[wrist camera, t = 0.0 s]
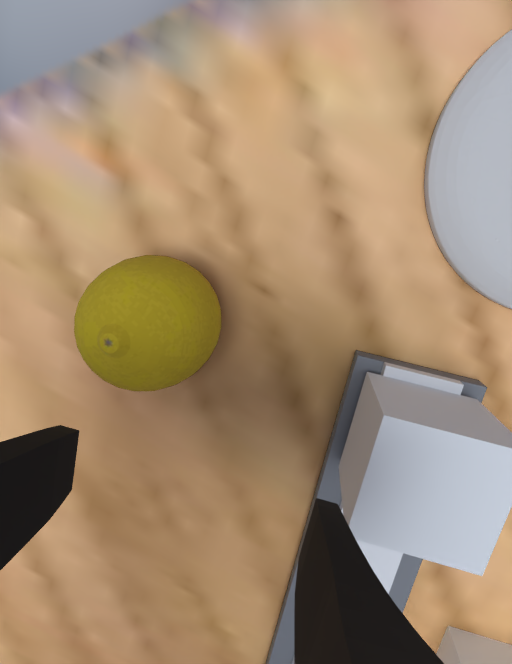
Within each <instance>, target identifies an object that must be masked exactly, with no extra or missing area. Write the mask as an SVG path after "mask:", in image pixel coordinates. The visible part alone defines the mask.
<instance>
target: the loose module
mask: <svg viewBox="0 0 512 664" xmlns="http://www.w3.org/2000/svg"><path fill="white" fill-rule="evenodd" d="M436 655H437V656H438V657H439V658H440V659H441V661H442V662H443V663H444V664H512V645H510V644H507V643H504V642H500V641H497V640H494V639H491V638H487V637H484V636H481V635H477V634H474V633H471V632H467V631H464V630H461V629H457V628H454V627H451V626H447V629H446V631H445V634H444V636H443V639H442V641H441V643H440V646H439V648H438V651H437V653H436Z"/></svg>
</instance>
